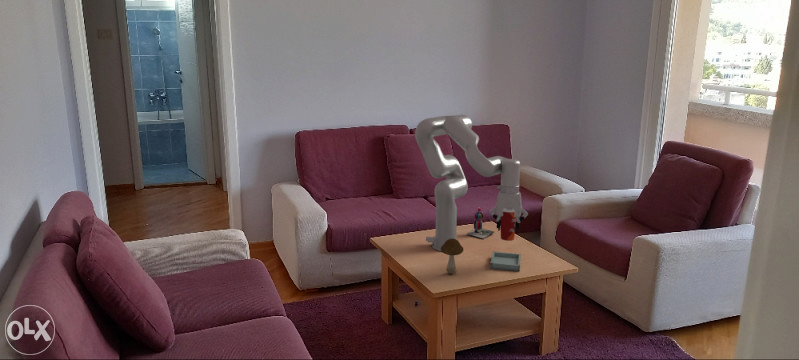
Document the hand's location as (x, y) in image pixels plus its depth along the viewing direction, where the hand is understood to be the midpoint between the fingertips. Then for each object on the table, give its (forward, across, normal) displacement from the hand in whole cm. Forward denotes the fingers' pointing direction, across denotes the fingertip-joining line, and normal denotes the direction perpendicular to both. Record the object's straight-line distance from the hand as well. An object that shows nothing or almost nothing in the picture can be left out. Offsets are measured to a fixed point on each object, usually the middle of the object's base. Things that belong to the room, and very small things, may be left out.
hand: (507, 230), depth 245 cm
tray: (+15, 0, 0) cm, 15 cm away
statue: (+15, -14, +36) cm, 42 cm away
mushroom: (+15, -21, -16) cm, 31 cm away
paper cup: (+4, 0, 0) cm, 4 cm away
